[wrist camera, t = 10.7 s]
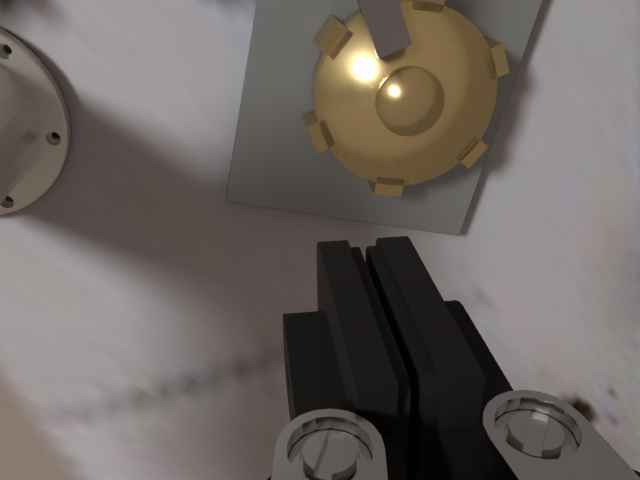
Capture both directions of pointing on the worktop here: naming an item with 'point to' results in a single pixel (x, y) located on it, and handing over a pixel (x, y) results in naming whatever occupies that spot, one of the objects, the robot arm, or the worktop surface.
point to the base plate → (324, 168)
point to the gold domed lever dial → (403, 91)
